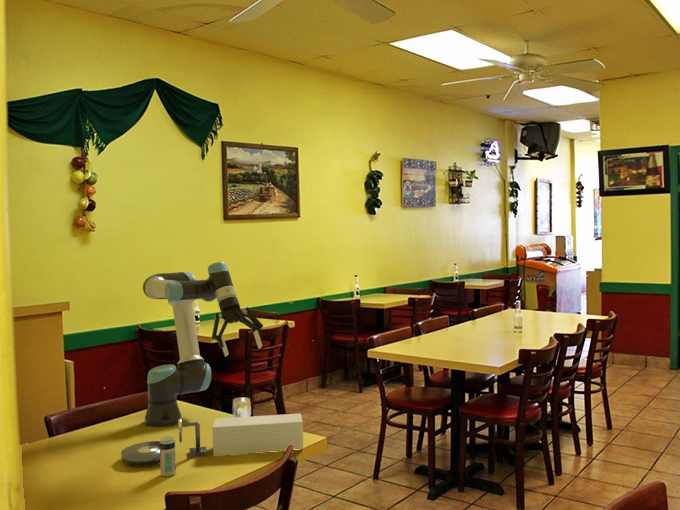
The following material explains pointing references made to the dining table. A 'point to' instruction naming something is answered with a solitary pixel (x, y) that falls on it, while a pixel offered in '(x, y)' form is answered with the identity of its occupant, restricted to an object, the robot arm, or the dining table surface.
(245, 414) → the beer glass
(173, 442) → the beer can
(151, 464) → the turntable base
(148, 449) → the turntable
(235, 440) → the white rectangular block
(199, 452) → the dial indicator
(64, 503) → the dining table surface
